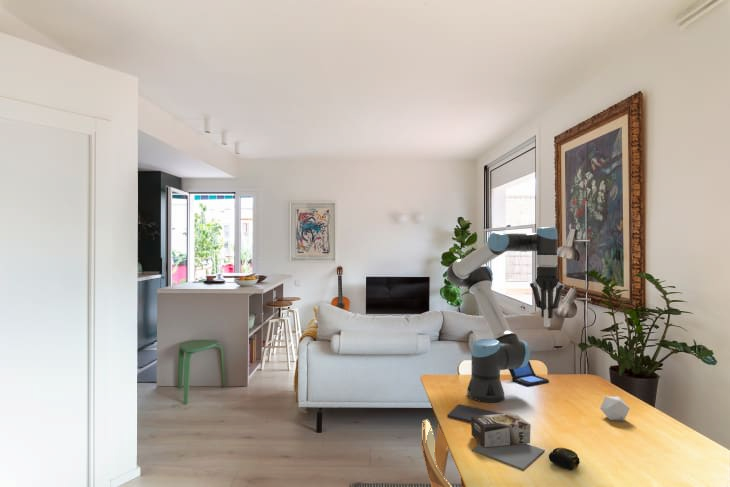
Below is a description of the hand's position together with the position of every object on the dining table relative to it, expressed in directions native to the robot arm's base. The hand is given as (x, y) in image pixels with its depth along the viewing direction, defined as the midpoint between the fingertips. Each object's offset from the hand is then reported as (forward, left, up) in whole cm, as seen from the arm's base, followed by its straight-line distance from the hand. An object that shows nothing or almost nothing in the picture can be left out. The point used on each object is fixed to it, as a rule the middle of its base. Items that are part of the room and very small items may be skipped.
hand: (547, 326), depth 158 cm
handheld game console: (-20, +31, -33) cm, 50 cm away
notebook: (-14, -26, -33) cm, 45 cm away
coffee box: (+4, -32, -29) cm, 43 cm away
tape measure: (+19, -40, -33) cm, 55 cm away
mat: (+4, -43, -32) cm, 54 cm away
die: (+21, +9, -33) cm, 40 cm away
